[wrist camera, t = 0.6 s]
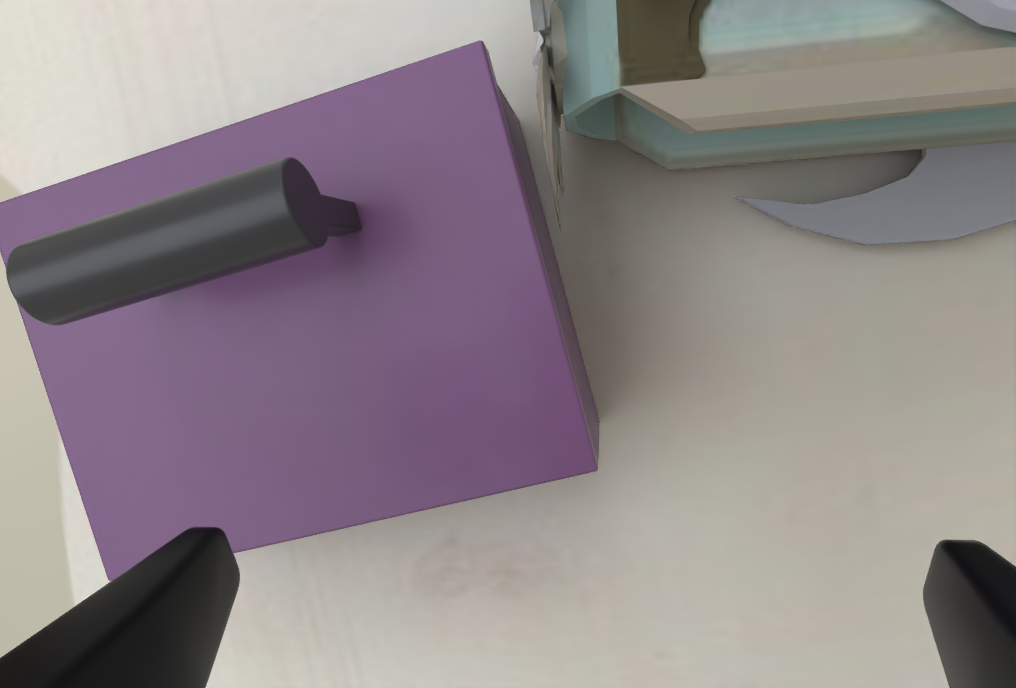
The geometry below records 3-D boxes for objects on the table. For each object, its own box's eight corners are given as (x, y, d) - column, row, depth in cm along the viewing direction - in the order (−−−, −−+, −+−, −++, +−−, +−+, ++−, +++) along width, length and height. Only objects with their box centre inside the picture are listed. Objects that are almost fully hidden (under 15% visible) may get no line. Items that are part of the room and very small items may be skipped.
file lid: (9, 209, 19) (-200, 190, 14) (487, 49, 17) (439, -41, 12) (127, 569, 20) (-32, 672, 15) (598, 461, 17) (596, 540, 12)
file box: (127, 242, 23) (20, 238, 19) (518, 118, 21) (497, 82, 17) (213, 514, 24) (128, 568, 20) (600, 422, 22) (598, 461, 17)
